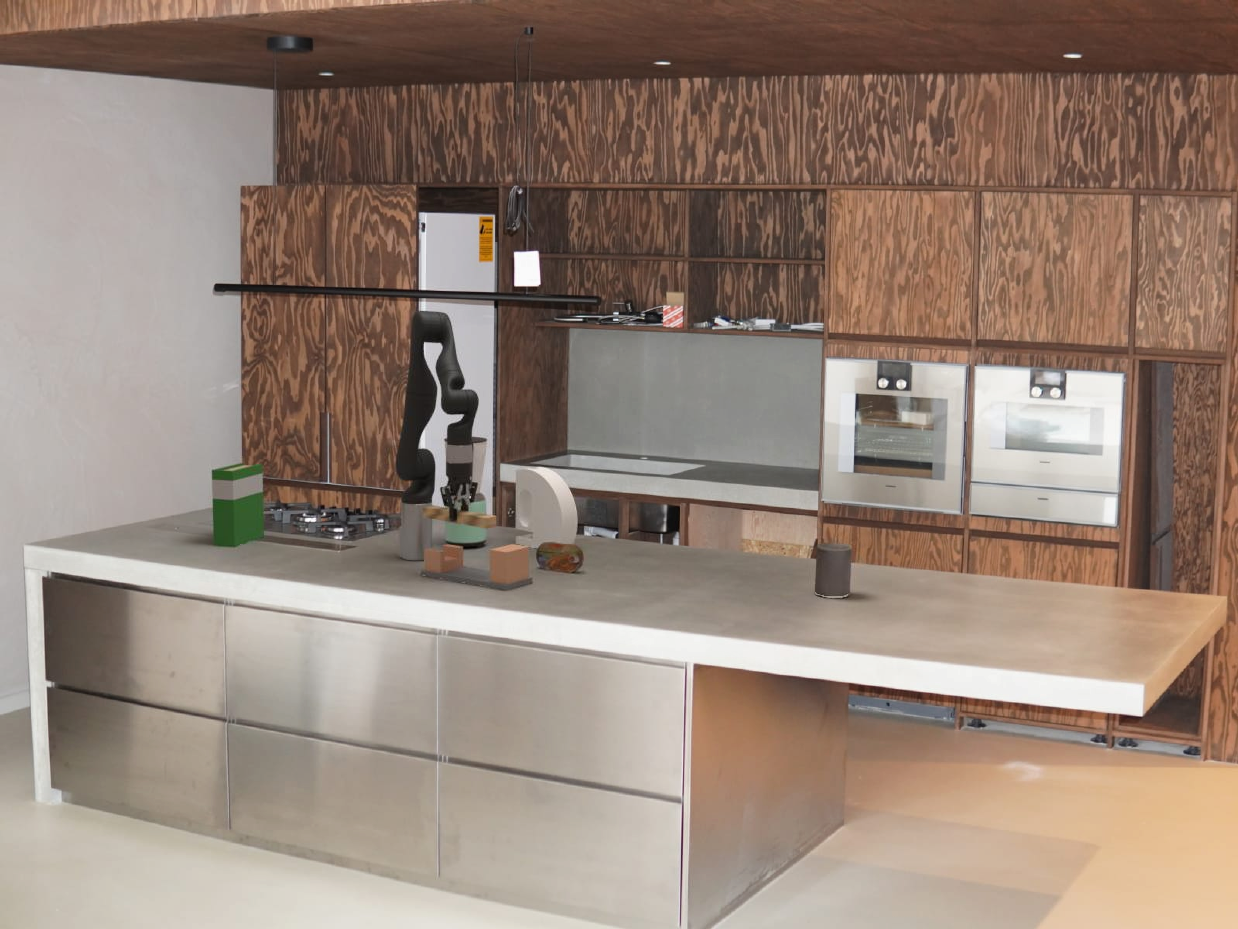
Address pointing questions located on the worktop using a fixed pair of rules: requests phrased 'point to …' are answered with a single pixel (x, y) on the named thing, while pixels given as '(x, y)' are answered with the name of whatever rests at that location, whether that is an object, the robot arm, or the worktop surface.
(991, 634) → the worktop surface
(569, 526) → the bracket
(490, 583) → the end cap rail
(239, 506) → the hardback book
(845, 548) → the pillar candle
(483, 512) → the blender
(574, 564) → the tin
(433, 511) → the slat
